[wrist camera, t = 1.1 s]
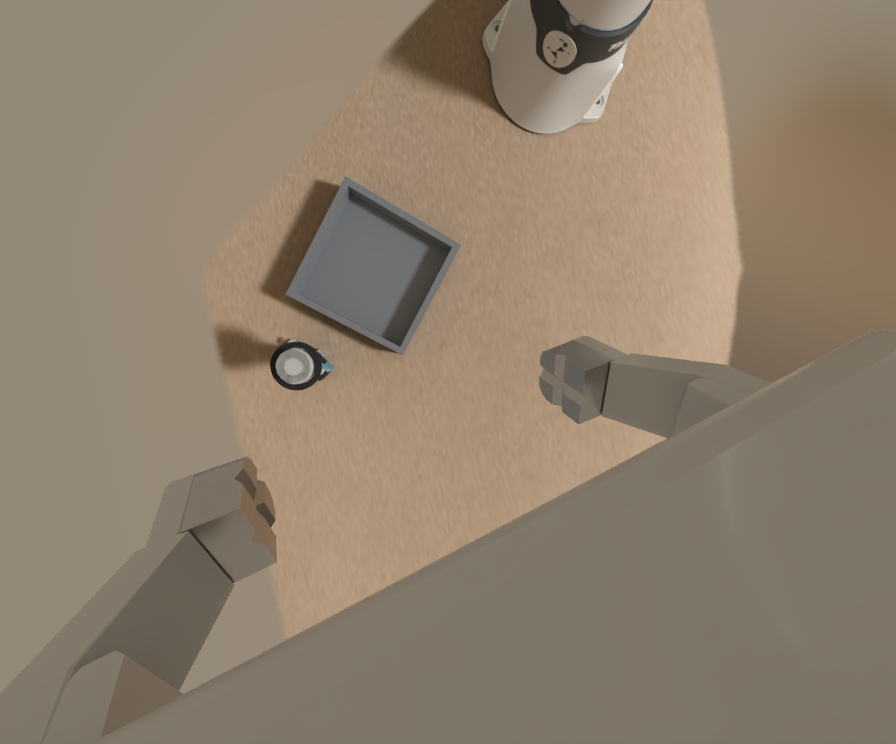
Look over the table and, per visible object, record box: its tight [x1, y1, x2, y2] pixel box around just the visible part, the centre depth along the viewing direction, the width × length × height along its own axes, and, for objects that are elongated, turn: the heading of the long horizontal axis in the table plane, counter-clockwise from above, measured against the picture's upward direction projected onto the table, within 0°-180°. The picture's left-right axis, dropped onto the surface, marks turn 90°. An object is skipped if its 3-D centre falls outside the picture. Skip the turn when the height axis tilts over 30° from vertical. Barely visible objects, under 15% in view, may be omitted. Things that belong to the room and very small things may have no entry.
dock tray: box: [285, 177, 460, 355], centre depth 44 cm, size 16×16×4 cm
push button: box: [270, 339, 334, 390], centre depth 41 cm, size 7×5×10 cm
